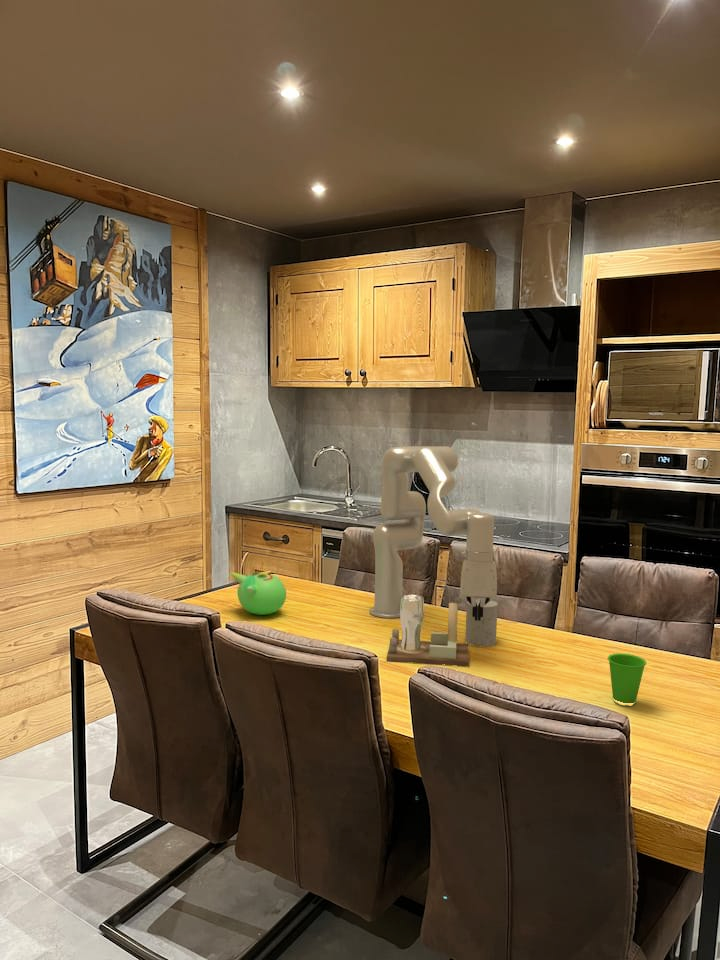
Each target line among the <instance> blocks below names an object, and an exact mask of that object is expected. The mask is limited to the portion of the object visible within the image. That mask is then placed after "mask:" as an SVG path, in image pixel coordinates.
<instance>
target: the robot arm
mask: <svg viewBox="0 0 720 960" xmlns="http://www.w3.org/2000/svg"><path fill="white" fill-rule="evenodd" d="M458 465H459V459H458V454H457V453H456V451H455V450H454V449H453V448H451V447H450V446H447V445H445V446H444V445H443V446H442V445H441V446H438V445H437V446H432V445H431V446H430V445H429V446H427V445H426V446H423V445H422V446H421V445H420V446H419V445H418V446H417V445H416V446H413V445H410V446H408V445H406V446H404V445H403V446H394V447H390V448H388V449H386V450H385V452H384V453H383V456H382V460H381V468H382V469H381V470H382V478H383V482H382V489H381V500H380V515H381V517H382V518H383V519H385V520H388V521H392V522H385V523H381V524H378V525H377V526H376V527H375V528H374V530H373V532H372V541H373V546H374V557H375V561H374V562H375V564H374V565H375V567H374V569H375V570H374V606H372V607H370V608H369V614H371V615H372V616H374V617H378V618H384V619H394V618H400V604H401V597H402V596H403V576H404V575H403V573H404V570H403V569H404V564H403V560H402V558H401V557H400V555H399V553H398V551H402V550H410V549H416V548H418V547H419V546H420V545H421V543H422V541H423V537H424V528H425V520H426V511H427V514H428V516H429V519H430V521H431V522H432V524H433V526H434V527H435V529H436V531H438V533H440V534H441V535H442V536H445V537H452V536H453V537H455V536H466V545H465V546H466V547H465V548H466V550H464V551H461V552H460V557H464V558H465V559H464V560H463V562H462V566H461V573H460V586H459V587H460V592H459V595H458V596H459V599H460V600H463V601H464V600H465V601H466V602H467V601H468V602H469V603H470V604H471V605H472V606H473V609H472V617H475V621H477V616H478V620H479V621H480V620H481V617H483V607H484V606H485V605H486V604H487V603H488V602H489V601H497V600H498V595H497V593H498V590H497V589H498V577H497V576H498V575H497V574H498V573H497V564H496V562H495V561H494V559H493V558H494V535H495V534H494V528H495V520H494V519H495V518H494V516H493V515H492V514H491V513H488V512H481V511H480V510H478V509H474V508H459V509H447V507H446V506H445V505H444V503H443V501H442V499H443V498H444V497H446V496H448V495H449V494H450V493H451V492H452V491H453V490H454V488H455V486H456V479H455V477H454V476H453V474H452V472H454V471H455V470H456V469H457V467H458ZM406 473H418V474H419V476H420V478H421V479H422V481H423V483H424V485H425V486H426V488H427V489H428V491H429V495H428V497H427V504H426V500H425V497H424V496H423V494H421V492H419V491H415V490H411V491H408V489H409V479H408V476H407V474H406ZM401 520H404V521H401ZM393 521H394V522H393ZM476 598H481V599H480V603H479V605H477V603H476V600H475V599H476Z"/></svg>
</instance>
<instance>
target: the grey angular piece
mask: <svg viewBox="0 0 720 960" xmlns="http://www.w3.org/2000/svg"><path fill="white" fill-rule="evenodd" d="M458 610H459V604H458V603H457V602H449V603H448V618H447V619H448V622H447V632H441V631H440V632H439V631H431V633H430V641H431V644H442V645H430V654H429V657H432V658H448V659H456V643H457V641H458V640H457V639H458V615H459V614H458V613H459V612H458ZM443 645H448V646H443Z"/></svg>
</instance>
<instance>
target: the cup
mask: <svg viewBox="0 0 720 960" xmlns="http://www.w3.org/2000/svg"><path fill="white" fill-rule="evenodd" d="M607 661H609V670H610V671H609V672H610V673H609V674H610V681H611V683H610V684H611V690H612V692H611V693H612V699H613V698H614V699H615V700H617V701H620V702H623V703H634V702H637V698H638V694H639V691H640V685H641V682H642V677H643V674H644V669H645V666H646V665H647V661H646V660H645V659H644V658H642V657H640V656H638V655H635V654H630V653H619V652H618V653H613V654H609V655H608V656H607Z"/></svg>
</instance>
